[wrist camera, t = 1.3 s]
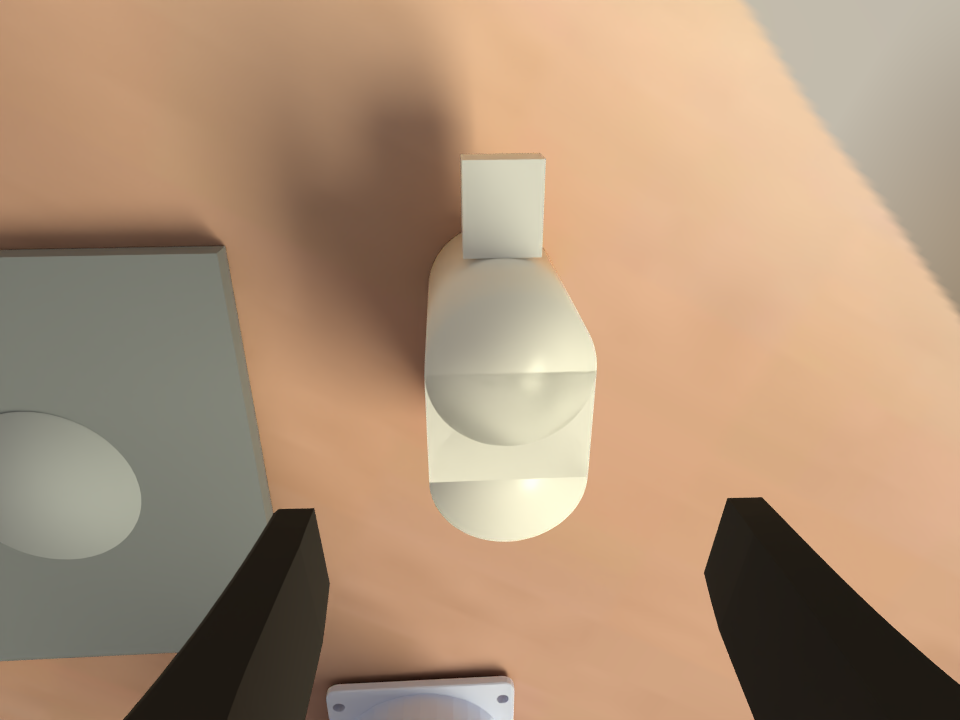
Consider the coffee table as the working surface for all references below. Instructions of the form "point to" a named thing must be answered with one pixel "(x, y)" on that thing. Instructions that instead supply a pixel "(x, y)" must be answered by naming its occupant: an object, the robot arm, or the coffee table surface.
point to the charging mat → (121, 449)
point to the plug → (505, 363)
